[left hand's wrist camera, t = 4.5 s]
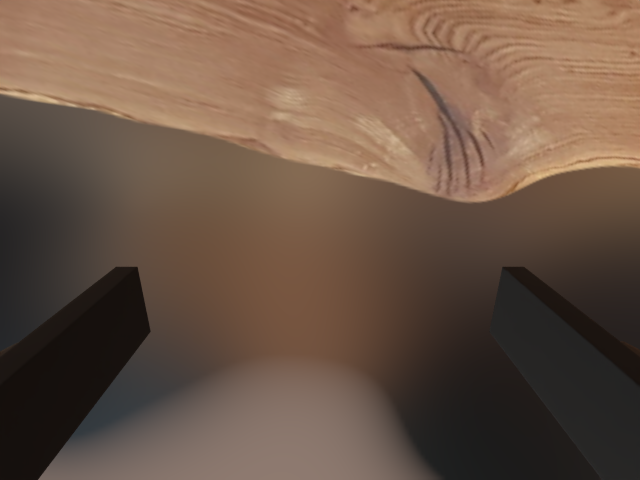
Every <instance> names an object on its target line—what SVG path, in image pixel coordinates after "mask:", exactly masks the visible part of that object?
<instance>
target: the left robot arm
mask: <svg viewBox="0 0 640 480" xmlns="http://www.w3.org/2000/svg"><path fill="white" fill-rule="evenodd" d="M149 333H150V327H149V322H148V317H147V312H146V307H145V302H144V297H143V292H142V287H141V282H140V277H139V272H138V267H115V268H114V269H113V270H112V271H110V272H109V273H108V274H106V275H105V276H104V277H102V278H101V279H100V280H99V281H97V282H96V283H95V284H93V285H92V286H91V287H90V288H88V289H87V290H86V291H84V292H83V293H82V294H81V295H79V296H78V297H77V298H75V299H74V300H73V301H71V302H70V303H69V304H68V305H66V306H65V307H64V308H62V309H61V310H60V311H59V312H57V313H56V314H55V315H54V316H52V317H51V318H50V319H48V320H47V321H46V322H44V323H43V324H42V325H41V326H39V327H38V328H37V329H35V330H34V331H33V332H32V333H30V334H29V335H28V336H26V337H25V338H24V339H22V340H21V341H20V342H19V343H16V344H14V345H12V346H10V347H8V348H6V349H4V350H2V351H0V480H38V479H39V478H40V476H41V475H42V474H43V472H44V471H45V470H46V468H47V467H48V466H49V464H50V463H51V462H52V460H53V459H54V458H55V457H56V455H57V454H58V453H59V451H60V450H61V449H62V447H63V446H64V445H65V443H66V442H67V441H68V439H69V438H70V437H71V435H72V434H73V433H74V432H75V430H76V429H77V428H78V426H79V425H80V424H81V422H82V421H83V420H84V418H85V417H86V416H87V414H88V413H89V412H90V410H91V409H92V408H93V407H94V405H95V404H96V403H97V401H98V400H99V399H100V397H101V396H102V395H103V393H104V392H105V391H106V389H107V388H108V387H109V386H110V384H111V383H112V382H113V380H114V379H115V378H116V376H117V375H118V374H119V372H120V371H121V370H122V368H123V367H124V366H125V364H126V363H127V362H128V361H129V359H130V358H131V357H132V355H133V354H134V353H135V351H136V350H137V349H138V347H139V346H140V345H141V343H142V342H143V341H144V340H145V338H146V337H147V336H148V334H149ZM490 333H491V334H492V336H493V337H494V338H495V340H496V341H497V342H498V343H499V345H500V346H501V347H502V349H503V350H504V351H505V353H506V354H507V355H508V357H509V358H510V359H511V361H512V362H513V363H514V364H515V366H516V367H517V368H518V370H519V371H520V372H521V374H522V375H523V376H524V378H525V379H526V380H527V382H528V383H529V384H530V386H531V387H532V388H533V389H534V391H535V392H536V393H537V395H538V396H539V397H540V399H541V400H542V401H543V403H544V404H545V405H546V407H547V408H548V409H549V410H550V412H551V413H552V414H553V416H554V417H555V418H556V420H557V421H558V422H559V424H560V425H561V426H562V428H563V429H564V430H565V431H566V433H567V434H568V435H569V437H570V438H571V439H572V441H573V442H574V443H575V445H576V446H577V447H578V449H579V450H580V451H581V453H582V454H583V455H584V457H585V458H586V459H587V460H588V462H589V463H590V464H591V466H592V467H593V468H594V470H595V471H596V472H597V474H598V475H599V476H600V478H601V479H602V480H640V350H639V349H637V348H635V347H633V346H631V345H629V344H627V343H625V342H620V341H619V340H617V339H616V338H615V337H614V336H612V335H611V334H610V333H608V332H607V331H606V330H605V329H603V328H602V327H601V326H599V325H598V324H597V323H596V322H594V321H593V320H592V319H590V318H589V317H588V316H587V315H585V314H584V313H583V312H581V311H580V310H579V309H577V308H576V307H575V306H574V305H572V304H571V303H570V302H569V301H567V300H566V299H565V298H563V297H562V296H561V295H559V294H558V293H557V292H556V291H554V290H553V289H552V288H550V287H549V286H548V285H547V284H545V283H544V282H543V281H541V280H540V279H539V278H538V277H536V276H535V275H534V274H532V273H531V272H530V271H529V270H527V269H526V268H525V267H502V272H501V277H500V282H499V287H498V292H497V297H496V302H495V307H494V312H493V317H492V322H491V327H490Z"/></svg>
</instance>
